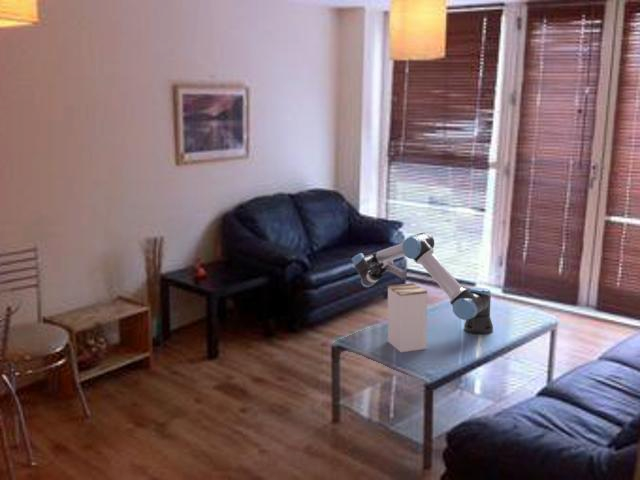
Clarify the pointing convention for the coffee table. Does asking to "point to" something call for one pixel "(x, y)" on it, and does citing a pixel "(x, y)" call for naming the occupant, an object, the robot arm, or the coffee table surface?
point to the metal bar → (395, 270)
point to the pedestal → (407, 317)
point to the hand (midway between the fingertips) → (389, 261)
